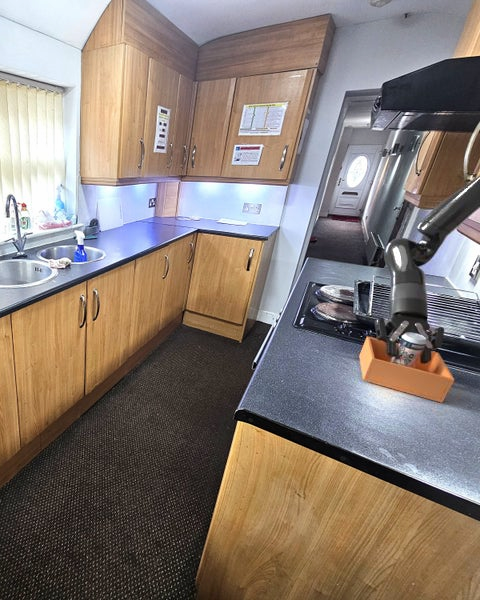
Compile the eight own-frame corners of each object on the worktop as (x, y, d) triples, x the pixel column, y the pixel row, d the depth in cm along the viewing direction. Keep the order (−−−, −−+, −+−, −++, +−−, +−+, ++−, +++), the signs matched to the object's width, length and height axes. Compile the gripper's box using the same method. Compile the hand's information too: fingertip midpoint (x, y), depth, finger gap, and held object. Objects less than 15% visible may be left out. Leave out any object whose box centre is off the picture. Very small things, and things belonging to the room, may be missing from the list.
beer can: (387, 375, 89) (404, 337, 84) (385, 366, 92) (401, 329, 87) (411, 381, 86) (430, 342, 81) (407, 372, 90) (426, 334, 85)
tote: (428, 373, 91) (438, 352, 89) (442, 402, 80) (454, 379, 77) (359, 355, 99) (367, 336, 97) (363, 380, 88) (372, 358, 85)
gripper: (382, 292, 90) (380, 349, 85) (451, 301, 85) (455, 363, 79) (369, 303, 97) (367, 356, 92) (433, 312, 91) (435, 370, 86)
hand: (408, 359), depth 86 cm, fingers open, 6 cm apart
